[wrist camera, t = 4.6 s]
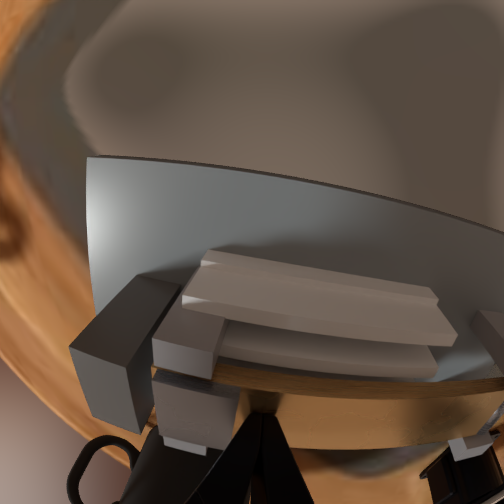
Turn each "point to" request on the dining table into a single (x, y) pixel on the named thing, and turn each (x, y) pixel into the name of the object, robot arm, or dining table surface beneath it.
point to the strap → (323, 408)
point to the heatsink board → (277, 285)
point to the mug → (151, 470)
